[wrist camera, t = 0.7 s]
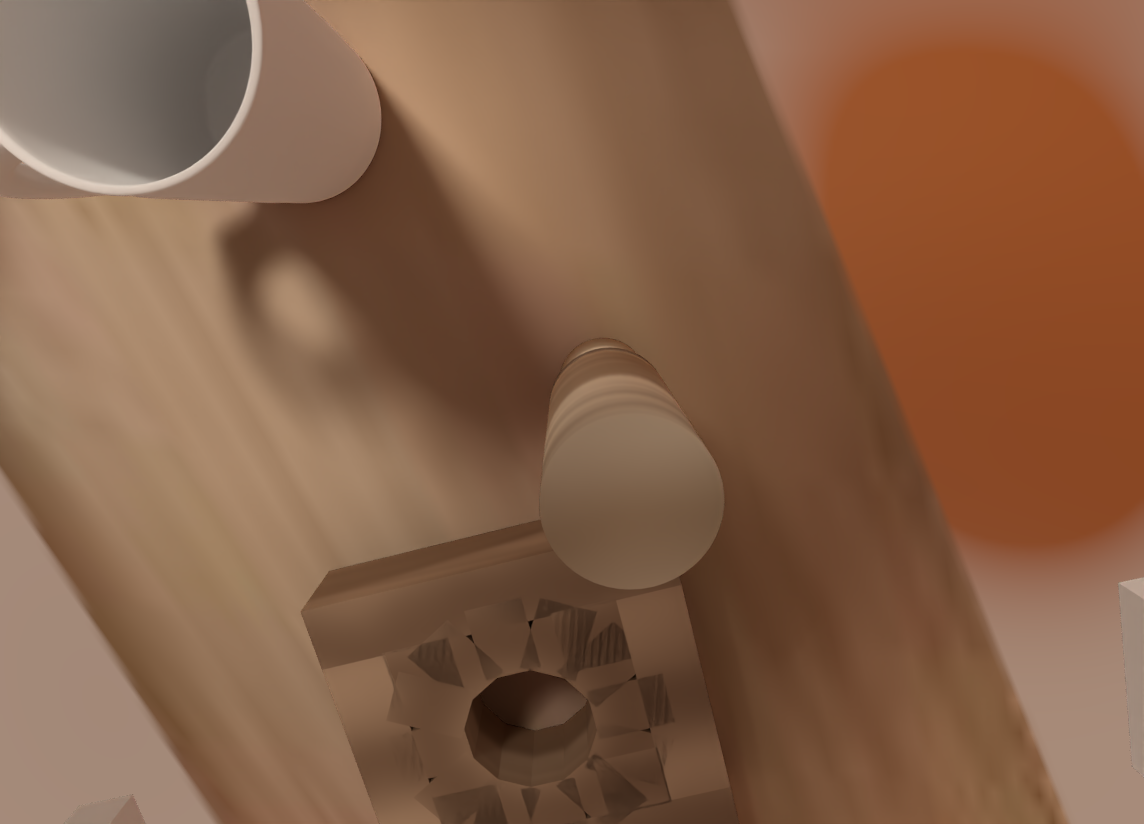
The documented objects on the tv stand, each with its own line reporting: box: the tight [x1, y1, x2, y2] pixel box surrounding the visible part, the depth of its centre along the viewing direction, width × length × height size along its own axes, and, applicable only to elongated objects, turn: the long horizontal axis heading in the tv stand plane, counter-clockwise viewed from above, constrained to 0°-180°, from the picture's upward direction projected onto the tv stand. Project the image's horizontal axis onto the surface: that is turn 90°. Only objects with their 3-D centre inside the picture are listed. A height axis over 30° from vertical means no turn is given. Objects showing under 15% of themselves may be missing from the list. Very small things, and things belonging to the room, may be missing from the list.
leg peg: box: [539, 338, 724, 590], centre depth 23 cm, size 4×4×14 cm
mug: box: [0, 0, 381, 203], centre depth 22 cm, size 10×7×12 cm, turn 116°
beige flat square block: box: [301, 520, 739, 824], centre depth 31 cm, size 14×14×4 cm
